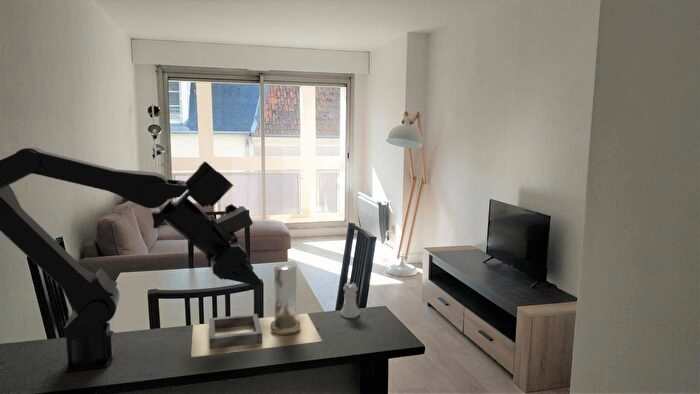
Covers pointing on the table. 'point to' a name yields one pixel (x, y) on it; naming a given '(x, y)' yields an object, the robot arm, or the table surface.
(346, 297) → the rook chess piece
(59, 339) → the table surface
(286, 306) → the grey rounded piece
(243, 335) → the carrier board
